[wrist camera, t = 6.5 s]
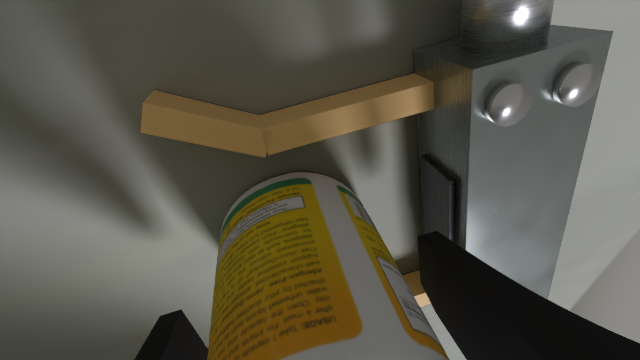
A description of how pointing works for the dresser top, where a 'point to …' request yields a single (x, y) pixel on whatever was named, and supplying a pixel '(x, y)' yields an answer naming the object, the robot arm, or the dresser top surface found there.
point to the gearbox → (507, 133)
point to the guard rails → (290, 123)
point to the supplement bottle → (311, 280)
